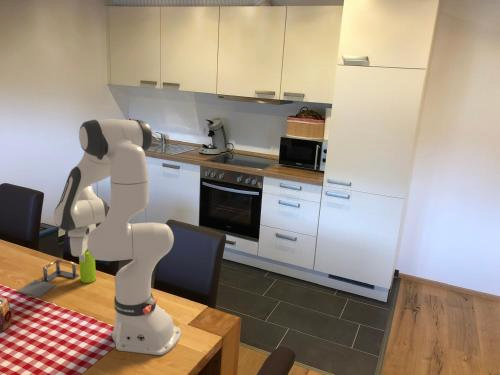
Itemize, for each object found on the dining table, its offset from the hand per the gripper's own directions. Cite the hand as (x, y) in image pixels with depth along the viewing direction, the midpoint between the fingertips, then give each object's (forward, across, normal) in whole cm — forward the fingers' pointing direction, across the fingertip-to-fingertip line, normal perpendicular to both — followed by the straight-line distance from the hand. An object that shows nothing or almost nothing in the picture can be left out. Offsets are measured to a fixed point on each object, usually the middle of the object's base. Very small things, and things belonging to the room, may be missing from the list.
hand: (85, 256), depth 166 cm
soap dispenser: (+10, 0, 0) cm, 10 cm away
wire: (+10, -1, -11) cm, 15 cm away
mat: (+11, +7, -17) cm, 21 cm away
